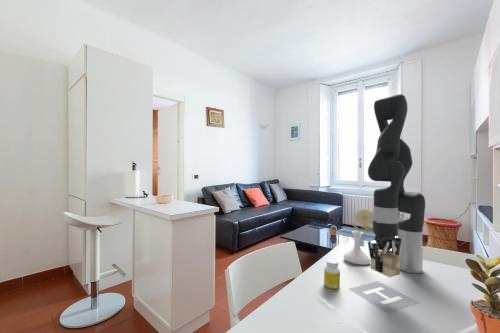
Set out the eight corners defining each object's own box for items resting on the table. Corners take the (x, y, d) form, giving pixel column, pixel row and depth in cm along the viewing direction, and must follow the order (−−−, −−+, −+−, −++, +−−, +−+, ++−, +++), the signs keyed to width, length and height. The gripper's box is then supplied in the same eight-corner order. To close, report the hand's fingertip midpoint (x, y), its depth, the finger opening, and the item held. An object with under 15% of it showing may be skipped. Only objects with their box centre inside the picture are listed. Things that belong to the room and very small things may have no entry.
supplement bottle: (340, 293, 83) (341, 265, 82) (324, 291, 84) (325, 263, 84) (338, 285, 88) (338, 259, 88) (323, 283, 89) (323, 257, 89)
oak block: (380, 265, 84) (380, 249, 84) (399, 274, 78) (400, 256, 78) (370, 268, 82) (370, 251, 82) (389, 277, 76) (389, 258, 76)
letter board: (377, 282, 90) (377, 281, 90) (419, 304, 77) (419, 302, 77) (348, 290, 84) (348, 288, 84) (387, 315, 71) (387, 313, 71)
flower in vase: (339, 261, 109) (340, 207, 109) (348, 255, 117) (350, 205, 117) (370, 271, 100) (371, 212, 100) (377, 263, 109) (379, 208, 108)
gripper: (388, 215, 86) (388, 261, 87) (360, 219, 80) (360, 269, 81) (410, 220, 79) (409, 270, 80) (381, 224, 74) (380, 279, 74)
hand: (384, 269), depth 80 cm, fingers closed on oak block, 5 cm apart
